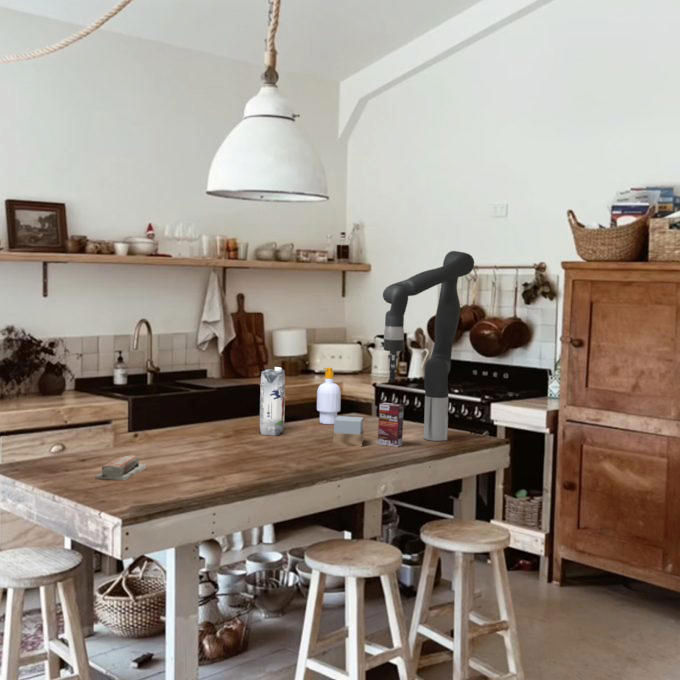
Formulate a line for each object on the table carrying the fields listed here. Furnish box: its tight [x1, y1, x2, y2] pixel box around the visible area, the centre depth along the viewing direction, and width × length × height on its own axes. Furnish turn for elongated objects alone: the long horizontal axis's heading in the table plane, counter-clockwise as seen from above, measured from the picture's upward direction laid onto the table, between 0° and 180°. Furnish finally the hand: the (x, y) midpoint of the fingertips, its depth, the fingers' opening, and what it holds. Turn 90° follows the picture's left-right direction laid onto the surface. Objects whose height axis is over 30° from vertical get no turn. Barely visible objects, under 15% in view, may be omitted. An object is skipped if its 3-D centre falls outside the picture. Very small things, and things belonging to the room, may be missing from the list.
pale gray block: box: [333, 415, 364, 435], centre depth 337 cm, size 10×10×5 cm
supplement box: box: [377, 402, 405, 448], centre depth 336 cm, size 9×5×16 cm, turn 62°
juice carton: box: [259, 366, 286, 436], centre depth 353 cm, size 9×10×27 cm
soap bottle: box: [316, 367, 342, 425], centre depth 381 cm, size 10×10×24 cm
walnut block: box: [332, 430, 364, 447], centre depth 338 cm, size 11×11×5 cm
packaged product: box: [95, 454, 147, 481], centre depth 279 cm, size 18×5×10 cm
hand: (392, 380), depth 335 cm, fingers open, 8 cm apart
